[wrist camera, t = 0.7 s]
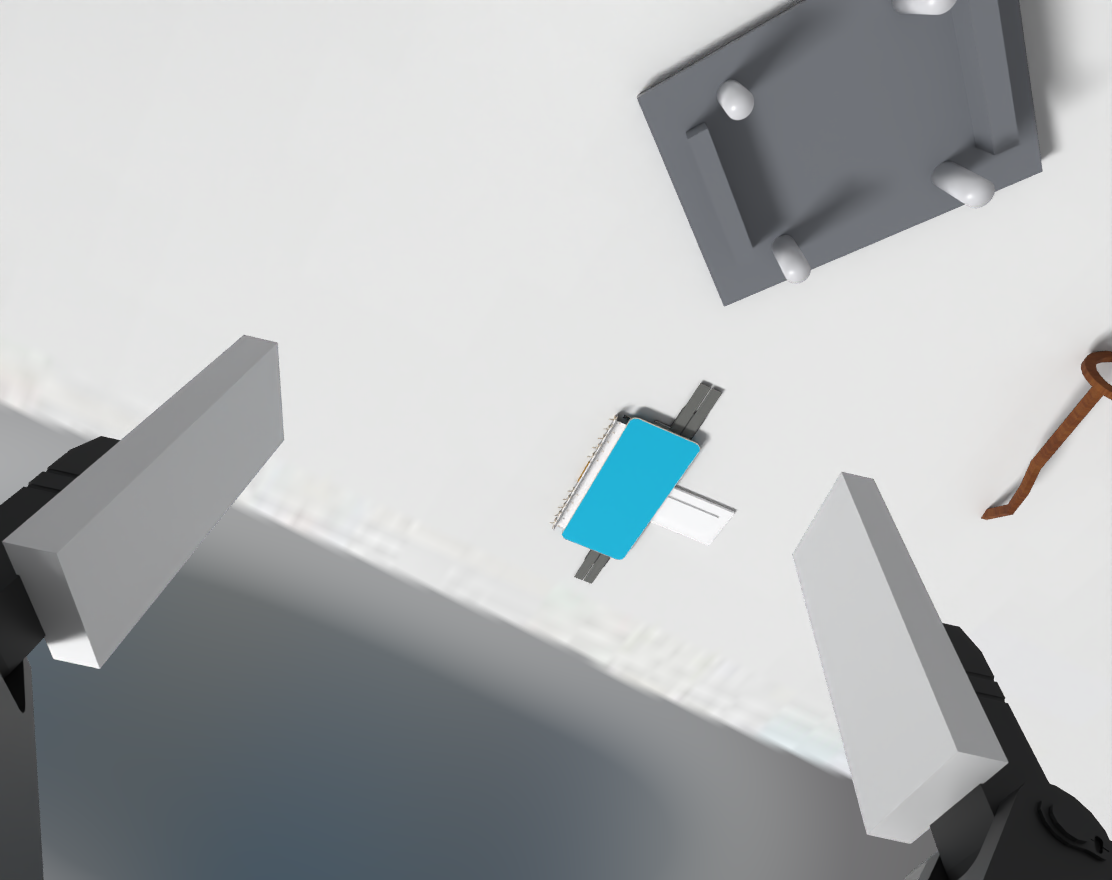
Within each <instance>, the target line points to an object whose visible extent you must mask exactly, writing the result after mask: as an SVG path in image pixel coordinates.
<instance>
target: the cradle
mask: <svg viewBox="0 0 1112 880" xmlns="http://www.w3.org/2000/svg"><path fill="white" fill-rule="evenodd" d="M637 99H638V102H639V104H640V106H641V109H642V111H643V114H644V116H645V118H646V121H647V123H648V126H649V128H650V130H651V133H652V135H653V137H654V140H655V142H656V145H657V147H658V149H659V152H660V154H661V157H662V159H663V161H664V164H665V166H666V169H667V171H668V173H669V176H670V178H671V181H672V183H673V185H674V188H675V190H676V192H677V195H678V197H679V200H680V202H681V204H682V207H683V209H684V212H685V214H686V216H687V219H688V221H689V224H690V226H691V228H692V231H693V233H694V236H695V238H696V240H697V243H698V245H699V247H700V250H701V252H702V255H703V257H704V259H705V262H706V264H707V267H708V269H709V271H710V274H711V276H712V279H713V281H714V283H715V286H716V288H717V291H718V293H719V295H720V298H721V300H722V302H723V305H724V306H727V305H729V304H732V303H734V302H736V301H739V300H741V299H743V298H746V297H748V296H750V295H753V294H755V293H757V292H760V291H762V290H765V289H767V288H769V287H772V286H774V285H776V284H779V283H781V282H783V281H786V280H788V281H789V282H791V283H795V284H797V283H801V282H803V281H805V280H806V279H807V278H808V276H809V275H810V271H811V270H812V269H814V268H816V267H819V266H821V265H823V264H826V263H828V262H830V261H833V260H835V259H838V258H840V257H842V256H845V255H847V254H849V253H852V252H854V251H856V250H859V249H861V248H863V247H866V246H868V245H871V244H873V243H875V242H878V241H880V240H882V239H885V238H887V237H889V236H892V235H894V234H896V233H899V232H901V231H903V230H906V229H908V228H911V227H913V226H915V225H918V224H920V223H922V222H925V221H927V220H929V219H932V218H934V217H936V216H939V215H941V214H944V213H946V212H948V211H951V210H953V209H955V208H958V207H960V206H962V205H965V204H966V205H967V206H969V207H971V208H979V207H982V206H984V205H986V204H987V203H988V202H989V201H990V200H991V199H992V197H993V195H994V192H995V191H998V190H1000V189H1002V188H1005V187H1007V186H1009V185H1012V184H1014V183H1017V182H1019V181H1021V180H1024V179H1026V178H1028V177H1031V176H1033V175H1035V174H1038V173H1040V172H1042V164H1041V157H1040V149H1039V142H1038V135H1037V128H1036V121H1035V114H1034V106H1033V99H1032V92H1031V85H1030V78H1029V71H1028V64H1027V56H1026V49H1025V42H1024V35H1023V28H1022V21H1021V13H1020V6H1019V0H803V1H801V2H800V3H798V4H796V5H794V6H793V7H791V8H789V9H787V10H786V11H784V12H782V13H781V14H779V15H777V16H775V17H774V18H772V19H770V20H768V21H767V22H765V23H763V24H761V25H760V26H758V27H756V28H754V29H753V30H751V31H749V32H747V33H746V34H744V35H742V36H740V37H739V38H737V39H735V40H734V41H732V42H730V43H728V44H727V45H725V46H723V47H721V48H720V49H718V50H716V51H714V52H713V53H711V54H709V55H707V56H706V57H704V58H702V59H700V60H699V61H697V62H695V63H693V64H692V65H690V66H688V67H687V68H685V69H683V70H681V71H680V72H678V73H676V74H674V75H673V76H671V77H669V78H667V79H666V80H664V81H662V82H660V83H659V84H657V85H655V86H653V87H652V88H650V89H648V90H647V91H645V92H643V93H641V94H640V95H638V96H637Z"/></svg>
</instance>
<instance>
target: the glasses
mask: <svg viewBox="0 0 1112 880" xmlns="http://www.w3.org/2000/svg"><path fill="white" fill-rule="evenodd" d="M1102 362H1112V352H1111V351H1100V352H1094V353H1091V354H1089V355H1088V356H1087V357H1086V358H1085V360H1084V361H1083V362H1082V364H1081V370H1082V374H1083V375H1084V377H1085V379H1086V380H1087V381H1088V382H1089V384H1090V385H1091V386H1092V387H1091V389H1090V390H1089V391H1088V392H1087V393H1086V395H1085V396H1084V397H1083V398H1082V400H1081V401H1080V402H1079V403H1078V404H1077V406H1076V407H1075V408H1074V409H1073V411H1072V412H1071V413H1070V414H1069V415H1068V417H1067V418H1066V419H1065V420H1064V422H1063V423H1062V424H1061V425H1060V426H1059V428H1058V429H1057V430H1056V431H1055V433H1054V434H1053V435H1052V436H1051V437H1050V439H1049V440H1048V441H1047V442H1046V443H1045V445H1044V446H1043V447H1042V448H1041V450H1040V451H1039V452H1038V453H1037V454H1036V456H1035V457H1034V458H1033V459H1032V461H1031V462H1030V465H1029V467H1028V469H1027V471H1026V474H1025V476H1024V478H1023V481H1022V483H1021V485H1020V487H1019V488H1018V490H1017V491H1016V493H1015V494H1014V496H1013V497H1012V499H1011V500H1010V502H1009V504H1008V505H1003V506H999V507H994V508H990V509H987V510H986V511H985V513H984V514H983V516H982V517H981V518H982V519H986V520H988V519H993V518H998V517H1003V516H1008V515H1013V513H1014V512H1015V511H1016V510H1017V508H1018V507H1019V506H1020V505H1021V503H1022V502H1023V501H1024V499H1025V498H1026V497H1027V496H1028V494H1029V492H1030V490H1031V488H1032V486H1033V484H1034V482H1035V480H1036V478H1037V476H1038V474H1039V472H1040V470H1041V468H1042V467H1043V466H1044V465H1045V463H1046V462H1047V461H1048V460H1049V459H1050V458H1051V456H1052V455H1053V454H1054V453H1055V452H1056V450H1057V449H1058V448H1059V447H1060V446H1061V445H1062V443H1063V442H1064V441H1065V440H1066V439H1067V437H1068V436H1069V435H1070V434H1071V433H1072V432H1073V430H1074V429H1075V428H1076V427H1077V426H1078V424H1079V423H1080V422H1081V421H1082V420H1083V419H1084V417H1085V416H1086V415H1087V414H1088V413H1089V411H1090V410H1091V409H1092V408H1093V407H1094V406H1095V404H1096V403H1097V402H1098V401H1099V400H1100V398H1101V397H1102V396H1103V395H1104V396H1106V397H1107V398H1109V399H1111V400H1112V386H1111V385H1110V384H1109V383H1107V382H1106V381H1105V380H1104V379H1103V378H1102V377H1101V376H1100V374H1099V373H1098V371H1097V368H1096V364H1098V363H1102Z"/></svg>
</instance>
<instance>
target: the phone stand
mask: <svg viewBox="0 0 1112 880" xmlns="http://www.w3.org/2000/svg"><path fill="white" fill-rule="evenodd" d="M710 388H711V387H708V386H706V385H704V384H702V383H700V385H699V387H698V388H697V390H696V391H695V393H694V394H693V396H692V397H691V399H690V400H689V402H688V403H687V405H686V406H685V408H684V409H682V410H681V412H680V413H679V415H678V416H677V418H676V419H675V421H674V423H673V424H672V426H671V427H670V426H668V425H666V424H663V423H661V422H659V421H655V422H654V424H652V423H650V422H647V421H645V420H643V419H641V418H636V417H635V418H631V417H628V416H626V415H624V417H623V418H625V419H627V420H628V423H627V425H625V424H623V423H621V422H618V421H617V415H618V413H617V415H616V416H614V419H609V420H613V422H612V424H611V425H609V429H608V431H607V432H606V434H605V435H603V438H598V439H602V441H601V443H600V444H598V448H597V449H596V451H595V453H593V456H592V458H591V460H590V461H589V462H588V464H587V466H586V467H585V469H584V471H583V472H582V474H581V476H580V478H579V479H578V482H577V484H576V486H575V487H573V491H568V492H572V493H571V494H570V495H568V499H563V500H567V501H566V503H564V506H563V507H558V508H562V510H561V512H560V511H559V515H558V517H557V518H556V519H555V521H554V522H552V523H554V524H555V525H553V527H554V529H555V527H556V526H560V527H562V528H564V530H563V532H562V536H563V538H565V539H566V540H569V541H571V542H574V543H576V544H579V545H581V546H584V547H586V548H589V549H591V550H590V551H589V553H588V554H587V556H586V558H585V561H584V563H583V564H582V566H581V567H580V569H579V570H578V572H577V573H576V575H575V576H574V577H576V578H578V579H581V580H583V578H584V577H585V575H586V574H587V572H588V571H589V569H590V568H591V566H592V565H593V563H594V565H593V567H592V568H591V570H590V571H589V573H588V574H587V576H586V577H585V579H584V580H583V581H586V582H589V583H591V584H592V582H593V581H594V579H595V578H596V576H597V575H598V574H599V572H600V571H601V569H602V568H603V567H604V566H605V564H606V563H607V562H608V560H609V559H610V557H612V558H614V559H617V560H621V559H624V558H625V556H626V555H627V554H628V552H629V551H630V549H631V548H632V546H633V545H634V544H635V542H636V541H637V539H638V538H639V537H640V535H641V534H642V532H643V531H644V529H645V528H646V527H647V525H648V524H649V522H652V523H654V524H657V525H659V526H662V527H664V528H666V529H669V530H671V531H674V532H676V533H679V534H681V535H684V536H686V537H688V538H691V539H693V540H696V541H698V542H701V543H703V544H706V545H708V546H709V545H710V543H711V542H712V541H713V540H714V538H715V537H716V536H717V535H718V533H719V532H720V531H721V530H722V528H723V527H724V526H725V525H726V524H727V522H728V521H729V520H730V519H731V517H732V516H733V515H734V511H732V510H730V509H727V508H725V507H722V506H720V505H718V504H715V503H713V502H711V501H708V500H706V499H703V498H701V497H699V496H696V495H694V494H691V493H689V492H687V491H684V490H682V489H679V488H677V487H675V486H676V484H677V483H678V481H679V480H680V478H681V477H682V476H683V474H684V473H685V471H686V470H687V469H688V467H689V466H690V464H691V463H692V461H693V460H694V459H695V457H696V456H697V454H698V453H699V452H700V446H699V444H698V443H696V442H694V441H692V440H691V439H692V438H693V436H694V435H695V433H696V432H697V430H698V429H699V427H700V426H701V425H702V423H703V422H704V420H705V417H706V416H707V414H708V413H709V411H710V410H711V409H712V407H713V406H714V404H715V403H716V401H717V400H718V398H719V397H720V395H721V394H722V392H720V391H717V390H715V389H713V388H712V389H711V391H710V392H709V394H708V395H707V397H706V398H705V400H704V401H703V403H702V404H701V406H700V407H699V409H698V410H697V412H696V413H694V412H695V411H696V409H697V408H698V406H699V405H700V403H701V402H702V400H703V399H704V397H705V396H706V394H707V393H708V391H709V390H710ZM613 446H614V447H613ZM592 448H596V447H592ZM610 451H611V452H610ZM607 456H608V457H607ZM587 457H590V456H587ZM604 461H605V462H604ZM553 527H552V529H553Z"/></svg>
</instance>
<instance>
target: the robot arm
mask: <svg viewBox="0 0 1112 880" xmlns="http://www.w3.org/2000/svg"><path fill="white" fill-rule="evenodd" d="M283 441H284V431H283V416H282V401H281V386H280V371H279V356H278V343H277V342H273V341H268V340H264V339H259V338H255V337H251V336H246V335H243V336H242V337H241V338H240V339H239V340H237V341H236V342H235V343H234V344H233V345H232V346H230V347H229V348H228V349H227V350H226V351H225V352H223V353H222V354H221V355H220V356H219V357H218V358H216V359H215V360H214V361H213V362H212V363H211V364H209V365H208V366H207V367H206V368H205V369H204V370H202V371H201V372H200V373H199V374H198V375H196V376H195V377H194V378H193V379H192V380H191V381H189V382H188V383H187V384H186V385H185V386H184V387H182V388H181V389H180V390H179V391H178V392H177V393H175V394H174V395H173V396H172V397H171V398H170V399H168V400H167V401H166V402H165V403H164V404H163V405H161V406H160V407H159V408H158V409H157V410H156V411H154V412H153V413H152V414H151V415H150V416H148V417H147V418H146V419H145V420H144V421H143V422H141V423H140V424H139V425H138V426H137V427H136V428H134V429H133V430H132V431H131V432H130V433H129V434H127V435H126V436H125V437H124V438H123V439H122V440H116V439H112V438H108V437H103V436H100V437H98V438H96V439H94V440H91V441H89V442H87V443H85V444H82V445H80V446H78V447H75V448H73V449H71V450H69V451H68V452H67V453H66V454H64V455H63V456H62V457H61V458H59V459H58V460H57V461H55V462H54V463H53V464H52V465H51V466H49V467H48V470H47V471H46V472H42V473H40V474H39V475H38V476H37V477H35V478H34V479H33V480H32V481H31V482H29V485H28V487H23V488H22V489H20V490H19V491H18V492H17V493H15V494H14V495H13V496H11V498H9V499H8V500H6V501H5V502H4V503H3V504H1V505H0V880H44V879H43V862H42V845H41V828H40V810H39V793H38V776H37V759H36V743H35V725H34V708H33V691H32V674H31V666H30V664H29V661H28V659H27V657H26V656H27V655H28V654H29V653H30V652H31V651H32V650H33V649H34V647H35V646H36V645H37V644H38V643H39V642H40V641H41V640H42V639H43V638H45V640H46V643H47V645H48V647H49V649H50V652H51V654H52V656H53V658H54V659H57V660H61V661H66V662H71V663H76V664H80V665H85V666H90V667H94V668H99V669H100V668H101V667H102V665H103V664H104V663H105V662H106V660H107V659H108V658H109V656H110V655H111V654H112V653H113V652H114V650H115V649H116V648H117V647H118V646H119V644H120V643H121V642H122V640H123V639H124V638H125V637H126V635H127V634H128V633H129V632H130V631H131V629H132V628H133V627H134V626H135V624H136V623H137V622H138V621H139V619H140V618H141V617H142V616H143V614H144V613H145V612H146V611H147V609H148V608H149V607H150V606H151V604H152V603H153V602H154V601H155V600H156V598H157V597H158V596H159V595H160V593H161V592H162V591H163V589H164V588H165V587H166V586H167V585H168V583H169V582H170V581H171V580H172V578H173V577H174V576H175V575H176V573H177V572H178V571H179V570H180V568H181V567H182V566H183V565H184V563H185V562H186V561H187V560H188V559H189V557H190V556H191V555H192V554H193V552H194V551H195V550H196V549H197V547H198V546H199V545H200V544H201V542H202V541H203V540H204V539H205V537H206V536H207V535H208V534H209V533H210V531H211V530H212V529H213V528H214V526H215V525H216V524H217V522H218V521H219V520H220V519H221V517H222V516H223V515H224V514H225V513H226V511H227V510H228V509H229V508H230V506H231V505H232V504H233V503H234V501H235V500H236V499H237V498H238V496H239V495H240V494H241V493H242V492H243V490H244V489H245V488H246V487H247V485H248V484H249V483H250V482H251V480H252V479H253V478H254V477H255V475H256V474H257V473H258V472H259V470H260V469H261V468H262V467H263V465H264V464H265V463H266V462H267V460H268V459H269V458H270V457H271V456H272V454H273V453H274V452H275V451H276V449H277V448H278V447H279V446H280V444H281V443H282V442H283ZM792 555H793V559H794V563H795V566H796V570H797V574H798V578H799V581H800V585H801V589H802V593H803V596H804V600H805V604H806V608H807V611H808V615H809V619H810V623H811V626H812V630H813V634H814V638H815V641H816V645H817V649H818V653H819V656H820V660H821V664H822V668H823V671H824V675H825V679H826V682H827V686H828V690H829V694H830V697H831V701H832V705H833V709H834V712H835V716H836V720H837V724H838V727H839V731H840V735H841V739H842V742H843V746H844V750H845V754H846V757H847V761H848V765H849V769H850V772H851V776H852V780H853V784H854V787H855V791H856V794H857V799H858V802H859V806H860V810H861V813H862V817H863V821H864V825H865V828H866V832H867V834H868V835H872V836H877V837H881V838H886V839H890V840H895V841H900V842H904V843H909V844H911V843H912V842H913V841H915V840H916V839H917V838H918V837H919V836H921V835H922V834H923V833H924V832H926V831H927V830H928V829H929V828H931V831H932V834H933V837H934V840H935V843H936V846H937V848H938V851H937V852H935V853H934V854H933V855H932V856H930V857H929V858H928V859H926V860H925V861H924V862H923V863H921V864H920V865H919V866H917V867H916V868H915V869H914V870H912V871H911V872H910V873H909V874H908V875H907V876H906V877H905V878H904V879H905V880H917V879H918V878H919V879H918V880H1112V841H1110V840H1109V838H1108V836H1107V833H1106V831H1105V830H1104V829H1103V827H1102V826H1101V825H1100V823H1099V822H1098V821H1097V819H1096V818H1095V817H1094V816H1093V814H1092V813H1091V812H1090V811H1089V810H1088V809H1087V808H1086V807H1084V806H1083V805H1082V804H1081V803H1080V802H1079V801H1078V800H1077V799H1076V798H1075V797H1073V796H1071V795H1070V794H1068V793H1067V792H1065V791H1063V790H1062V789H1060V788H1058V787H1057V786H1055V785H1052V784H1050V783H1049V782H1048V780H1047V778H1046V776H1045V774H1044V772H1043V770H1042V768H1041V767H1040V765H1039V763H1038V761H1037V759H1036V757H1035V755H1034V753H1033V751H1032V749H1031V747H1030V745H1029V743H1028V741H1027V739H1026V737H1025V736H1024V734H1023V732H1022V730H1021V728H1020V726H1019V724H1018V722H1017V720H1016V718H1015V716H1014V714H1013V712H1012V710H1011V708H1010V706H1009V704H1008V703H1005V701H1004V699H1005V697H1004V695H1003V693H1002V691H1001V689H1000V687H999V685H998V683H997V682H994V675H993V673H992V671H991V670H990V668H989V666H988V664H987V662H986V660H985V658H984V656H983V654H982V652H981V651H980V650H979V648H978V647H977V646H976V645H975V644H974V643H973V642H972V641H971V639H970V638H969V637H968V636H967V635H966V634H965V633H964V631H963V630H962V629H961V628H960V627H958V626H953V625H949V624H944V623H942V622H941V620H940V617H939V615H938V613H937V611H936V609H935V607H934V605H933V603H932V601H931V599H930V596H929V594H928V592H927V590H926V588H925V586H924V584H923V582H922V580H921V578H920V575H919V573H918V571H917V569H916V567H915V565H914V563H913V561H912V559H911V557H910V555H909V552H908V550H907V548H906V546H905V544H904V542H903V540H902V538H901V536H900V534H899V531H898V529H897V527H896V525H895V523H894V521H893V519H892V517H891V515H890V513H889V510H888V508H887V506H886V504H885V502H884V500H883V498H882V496H881V494H880V492H879V489H878V487H877V485H876V483H875V481H874V479H871V478H867V477H862V476H858V475H853V474H849V473H845V472H841V473H840V475H839V477H838V478H837V480H836V482H835V483H834V485H833V487H832V488H831V490H830V492H829V493H828V495H827V497H826V499H825V500H824V502H823V504H822V505H821V507H820V509H819V510H818V512H817V514H816V515H815V517H814V519H813V520H812V522H811V524H810V526H809V527H808V529H807V531H806V532H805V534H804V536H803V537H802V539H801V541H800V542H799V544H798V546H797V547H796V549H795V551H794V552H793V554H792Z"/></svg>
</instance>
